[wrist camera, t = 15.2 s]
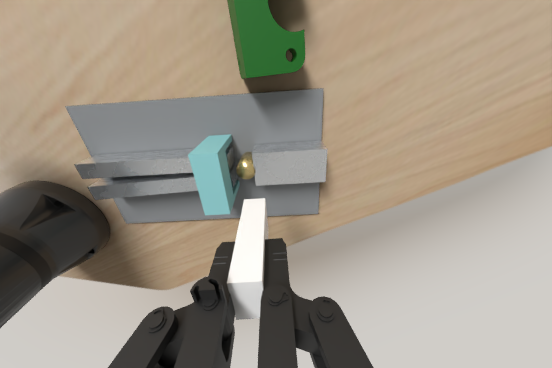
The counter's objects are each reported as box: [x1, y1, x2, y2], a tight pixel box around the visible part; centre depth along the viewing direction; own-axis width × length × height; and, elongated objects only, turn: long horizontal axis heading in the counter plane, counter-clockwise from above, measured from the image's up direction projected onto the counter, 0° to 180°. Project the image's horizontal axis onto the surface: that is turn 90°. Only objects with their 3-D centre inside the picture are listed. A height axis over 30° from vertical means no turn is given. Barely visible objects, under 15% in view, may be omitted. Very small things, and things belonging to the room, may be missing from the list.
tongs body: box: [74, 141, 327, 186], centre depth 27 cm, size 31×4×4 cm, turn 94°
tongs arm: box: [88, 163, 238, 200], centre depth 28 cm, size 19×2×4 cm, turn 96°
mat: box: [66, 88, 323, 224], centre depth 30 cm, size 32×18×1 cm, turn 94°
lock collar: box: [188, 134, 240, 215], centre depth 26 cm, size 3×8×7 cm, turn 4°
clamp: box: [227, 0, 305, 79], centre depth 19 cm, size 12×6×9 cm, turn 0°
